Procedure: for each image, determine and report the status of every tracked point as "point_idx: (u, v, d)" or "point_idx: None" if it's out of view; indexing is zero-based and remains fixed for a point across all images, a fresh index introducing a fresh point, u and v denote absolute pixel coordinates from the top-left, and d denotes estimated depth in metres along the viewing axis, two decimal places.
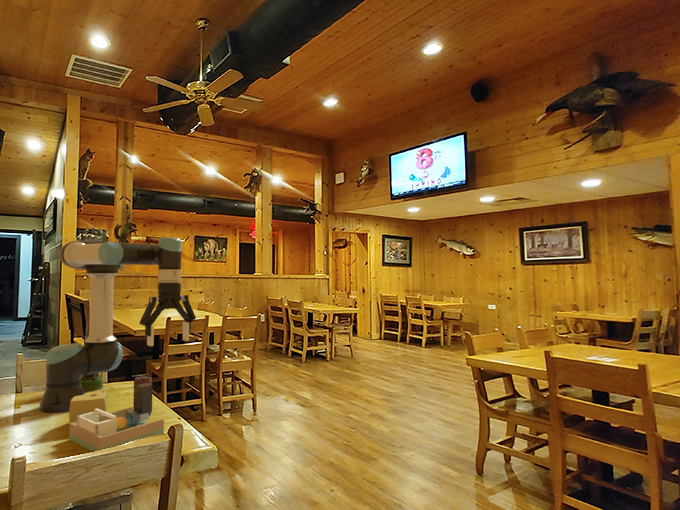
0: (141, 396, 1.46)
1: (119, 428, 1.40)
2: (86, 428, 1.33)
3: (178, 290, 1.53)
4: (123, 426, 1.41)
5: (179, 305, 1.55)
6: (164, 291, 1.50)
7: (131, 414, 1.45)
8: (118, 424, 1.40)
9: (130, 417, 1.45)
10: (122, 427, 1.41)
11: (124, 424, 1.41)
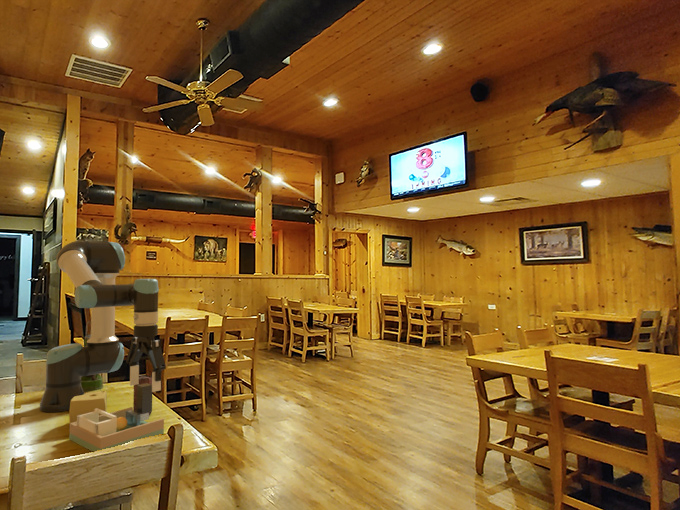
0: (141, 396, 1.46)
1: (119, 428, 1.40)
2: (86, 428, 1.33)
3: (137, 334, 1.45)
4: (123, 426, 1.41)
5: (145, 350, 1.46)
6: None
7: (131, 414, 1.45)
8: (118, 424, 1.40)
9: (130, 417, 1.45)
10: (122, 427, 1.41)
11: (124, 424, 1.41)
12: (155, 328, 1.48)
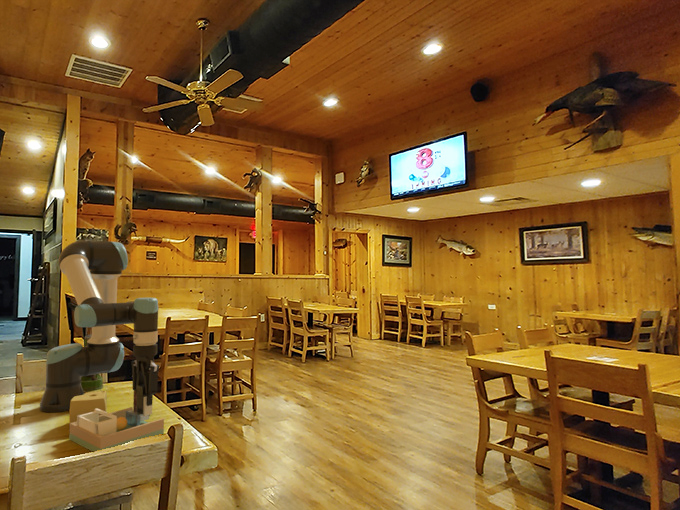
0: (141, 396, 1.46)
1: (119, 428, 1.40)
2: (86, 428, 1.33)
3: (137, 354, 1.45)
4: (123, 426, 1.41)
5: (142, 371, 1.46)
6: None
7: (131, 414, 1.45)
8: (118, 424, 1.40)
9: (130, 417, 1.45)
10: (122, 427, 1.41)
11: (124, 424, 1.41)
12: (155, 348, 1.48)
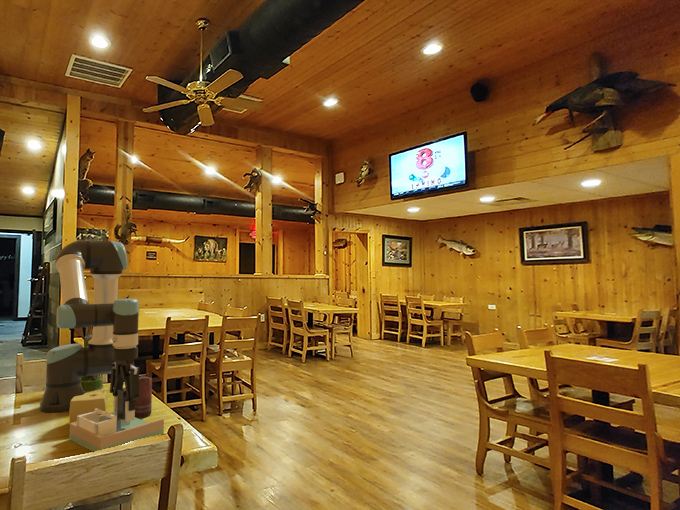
0: (122, 401, 1.41)
1: None
2: (86, 428, 1.33)
3: (116, 357, 1.40)
4: None
5: (122, 375, 1.41)
6: None
7: None
8: None
9: None
10: None
11: None
12: (135, 351, 1.42)
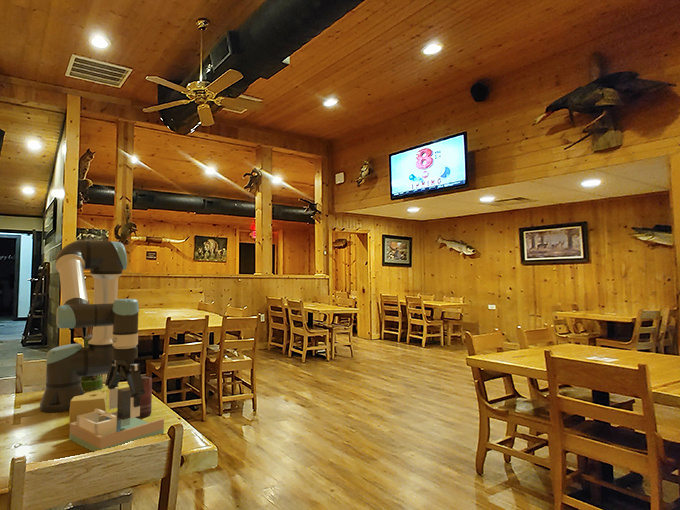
0: (122, 401, 1.41)
1: None
2: (86, 428, 1.33)
3: (116, 357, 1.40)
4: None
5: (124, 374, 1.40)
6: None
7: None
8: None
9: None
10: None
11: None
12: (135, 351, 1.42)
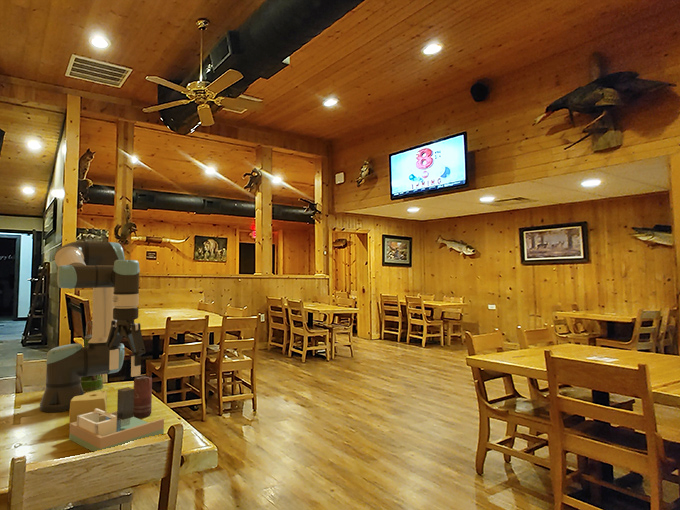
0: (122, 401, 1.41)
1: None
2: (86, 428, 1.33)
3: (116, 317, 1.40)
4: None
5: (124, 334, 1.40)
6: None
7: None
8: None
9: None
10: None
11: None
12: (135, 311, 1.43)
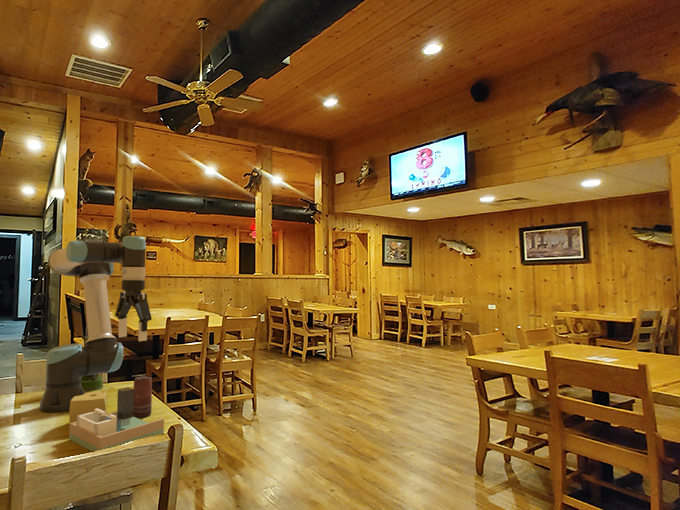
0: (122, 401, 1.41)
1: None
2: (86, 428, 1.33)
3: (125, 287, 1.55)
4: None
5: (132, 303, 1.55)
6: None
7: None
8: None
9: None
10: None
11: None
12: (142, 283, 1.57)
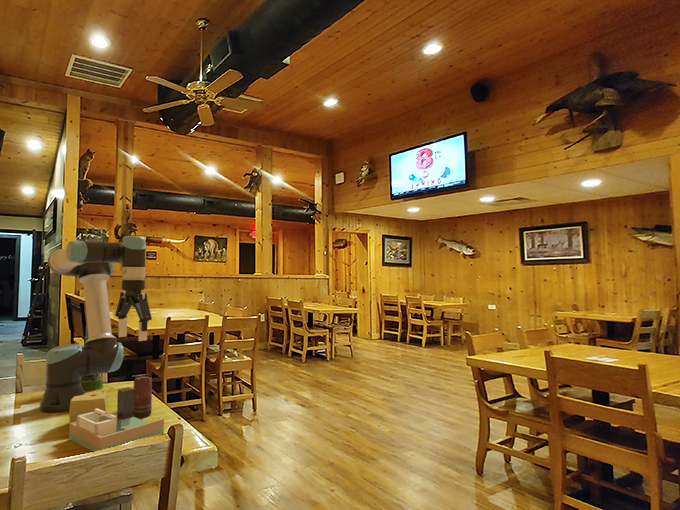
0: (122, 401, 1.41)
1: None
2: (86, 428, 1.33)
3: (125, 287, 1.55)
4: None
5: (132, 303, 1.55)
6: None
7: None
8: None
9: None
10: None
11: None
12: (142, 282, 1.57)
